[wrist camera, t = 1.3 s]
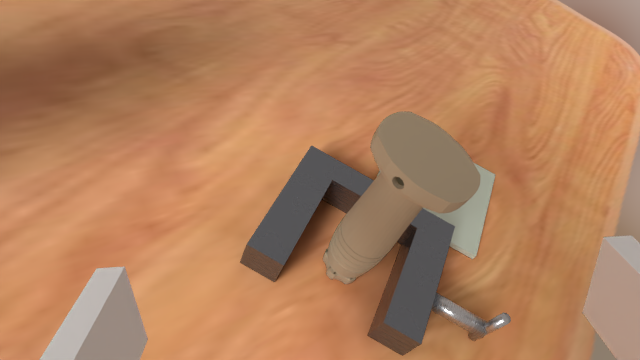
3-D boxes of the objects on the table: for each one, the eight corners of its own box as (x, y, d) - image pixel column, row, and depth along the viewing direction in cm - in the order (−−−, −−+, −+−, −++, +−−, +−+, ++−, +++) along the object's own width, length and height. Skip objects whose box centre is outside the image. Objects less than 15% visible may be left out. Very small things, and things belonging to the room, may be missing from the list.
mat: (365, 198, 42) (368, 195, 42) (400, 126, 49) (403, 123, 48) (472, 259, 42) (476, 256, 41) (492, 178, 49) (495, 174, 48)
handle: (332, 222, 39) (411, 101, 28) (386, 279, 38) (493, 175, 26) (292, 254, 37) (361, 133, 25) (349, 316, 35) (450, 217, 23)
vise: (239, 262, 35) (250, 235, 31) (302, 165, 42) (316, 135, 39) (466, 391, 34) (501, 378, 31) (490, 272, 41) (521, 250, 38)
